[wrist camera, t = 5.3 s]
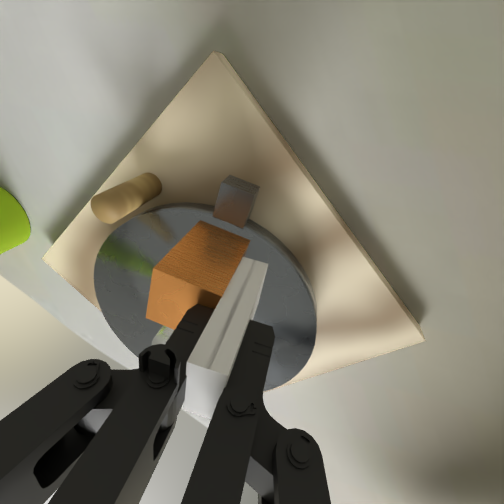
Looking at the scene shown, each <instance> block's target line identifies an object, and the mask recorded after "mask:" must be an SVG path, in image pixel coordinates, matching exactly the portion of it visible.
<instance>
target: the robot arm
mask: <svg viewBox="0 0 504 504" xmlns="http://www.w3.org/2000/svg"><path fill="white" fill-rule="evenodd" d="M267 268H268V264H267V263H264V262H260V261H257V260H253V259H250V258H246V257H243V258H242V260H241V261H240V263H239V265H238V267H237V269H236V271H235V273H234V275H233V276H232V278H231V280H230V282H229V284H228V286H227V288H226V290H225V292H224V294H223V296H222V298H221V299H220V301H219V303H218V304H217V306H216V308H215V309H212V308H209V307H206V306H203V305H200V304H196V305H194V306H193V307H191V308H190V309H188V310H187V312H186V313H185V315H184V316H183V318H182V319H181V321H180V322H179V324H178V325H177V327H176V329H175V330H174V331H173V333H172V334H171V336H170V337H169V339H168V340H167V342H166V343H165V344H156V345H152V346H149V347H147V348H145V349H144V350H143V351H142V352H141V353H140V354H139V369H133V370H111V369H110V366H109V365H108V364H107V363H106V362H104V361H102V360H98V359H90V360H86V361H82V362H80V363H78V364H76V365H75V366H73V367H71V368H70V369H69V370H67V371H66V372H65V373H64V374H62V375H61V376H59V377H58V378H57V379H56V380H54V381H53V382H52V383H50V384H49V385H47V386H46V387H45V388H43V389H42V390H41V391H39V392H38V393H37V394H36V395H34V396H33V397H31V398H30V399H29V400H28V401H26V402H25V403H23V404H22V405H21V406H19V407H18V408H17V409H15V410H14V411H13V412H11V413H10V414H9V415H7V416H6V417H5V418H3V419H2V420H1V421H0V504H44V503H45V501H46V500H47V499H48V498H49V497H50V496H51V495H52V494H53V493H54V492H55V491H56V490H57V489H58V490H57V491H56V493H55V494H54V495H53V497H52V498H51V500H50V501H49V503H48V504H139V502H140V500H141V497H142V495H143V493H144V491H145V489H146V487H147V485H148V483H149V481H150V478H151V476H152V474H153V472H154V470H155V468H156V466H157V464H158V461H159V459H160V457H161V455H162V453H163V451H164V449H165V446H166V444H167V442H168V440H169V438H170V436H171V434H172V432H173V429H174V427H175V424H176V419H177V415H178V413H179V411H180V409H181V407H182V405H183V410H185V411H188V412H190V413H193V414H196V415H199V416H201V417H205V418H207V419H210V420H211V421H210V424H209V427H208V430H207V433H206V436H205V438H204V441H203V444H202V447H201V449H200V452H199V455H198V458H197V460H196V463H195V466H194V469H193V472H192V474H191V477H190V480H189V483H188V486H187V488H186V491H185V494H184V497H183V499H182V502H181V504H240V501H241V496H242V491H243V487H244V482H247V483H248V484H249V485H250V486H251V487H252V488H253V489H254V490H255V491H256V492H257V493H258V504H331V501H330V496H329V490H328V485H327V480H326V474H325V469H324V464H323V458H322V454H321V451H320V448H319V445H318V444H317V443H316V441H315V440H314V438H313V437H312V436H311V435H309V434H308V433H307V432H305V431H303V430H300V429H297V428H294V429H288V430H287V429H286V428H284V427H283V426H282V425H280V424H279V423H278V422H276V421H275V420H274V419H273V418H272V417H271V416H270V415H269V413H268V412H267V410H266V408H265V406H264V403H263V390H264V385H265V381H266V376H267V372H268V367H269V363H270V358H271V354H272V349H273V345H274V341H275V334H274V330H273V327H272V326H269V325H266V324H263V323H260V322H256V321H253V318H254V315H255V312H256V309H257V306H258V303H259V299H260V295H261V291H262V287H263V283H264V279H265V275H266V271H267Z"/></svg>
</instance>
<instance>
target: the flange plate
mask: <svg viewBox="0 0 504 504" xmlns="http://www.w3.org/2000/svg"><path fill="white" fill-rule="evenodd" d="M259 189H260V186H257V185H255V184H252V183H250V182H247V181H245V180H242V179H240V178H237V177H235V176H232V175H229V176H228V177H227V178H226V179H224V180H223V181H222V182H221V186H220V189H219V193H218V197H217V201H216V204H215V206H213V205H208V204H203V203H190V202H181V203H169V204H164V205H160V206H156V207H153V208H150V209H148V210H145V211H143V212H141V213H140V214H138V215H136V216H135V217H133V218H132V219H130V220H128V221H127V222H125V223H124V224H122V225H121V226H119V227H118V228H117V229H116V230H114V231H113V232H112V233H111V234H110V235H109V236H108V237H107V239H106V240H105V241H104V243H103V244H102V246H101V248H100V250H99V252H98V254H97V257H96V261H95V265H94V276H93V277H94V288H95V293H96V297H97V301H98V303H99V306H100V309H101V311H102V313H103V315H104V317H105V319H106V321H107V322H108V324H109V326H110V327H111V329H112V330H113V331H114V333H115V334H116V335H117V337H118V338H119V339H120V340H121V341H122V342H123V344H124V345H125V346H126V347H127V348H128V349H129V350H130V351H131V352H133V353H134V354H135V355H136V356H137V357H138V358H139V354H140V353H141V352H142V351H143V350H144V349H145V348H147V347H149V346H152V345H156V344H165V343H166V342H167V340H168V339H169V337H170V336H171V334H172V333H173V331H174V330H175V329H176V327H177V325H178V324H179V322H180V321H181V319H182V318H183V316H184V315H185V313H186V312H187V310H188V309H190V308H191V307H193V306H194V305H196V304H200V305H203V306H206V307H209V308H212V309H215V308H216V306H217V304H218V303H219V301H220V299H221V298H222V296H223V294H224V292H225V290H226V288H227V286H228V284H229V282H230V280H231V278H232V276H233V275H234V273H235V271H236V269H237V267H238V265H239V263H240V261H241V260H242V258H243V257H246V258H250V259H253V260H257V261H260V262H264V263H267V264H268V268H267V271H266V275H265V279H264V283H263V287H262V291H261V295H260V299H259V303H258V306H257V309H256V312H255V315H254V318H253V321H256V322H260V323H263V324H266V325H269V326H272V327H273V330H274V334H275V341H274V345H273V349H272V354H271V358H270V363H269V367H268V372H267V376H266V381H265V385H264V390H263V392H265V391H268V390H272V389H274V388H276V387H279V386H281V385H283V384H285V383H286V382H288V381H290V380H291V379H292V378H294V377H295V376H296V375H297V374H298V373H299V372H300V371H301V370H302V369H303V368H304V366H305V365H306V364H307V362H308V360H309V358H310V357H311V355H312V352H313V349H314V346H315V340H316V333H317V303H316V299H315V294H314V290H313V288H312V285H311V282H310V280H309V277H308V276H307V274H306V272H305V270H304V269H303V267H302V265H301V264H300V262H299V261H298V260H297V258H296V257H295V256H294V254H293V253H292V252H291V251H290V250H289V249H288V248H287V247H286V246H285V245H284V244H283V243H282V242H281V241H280V240H279V239H278V238H277V237H276V236H274V235H273V234H272V233H271V232H269V231H268V230H267V229H265V228H264V227H262V226H261V225H259V224H257V223H256V222H254V221H252V220H251V219H249V218H250V215H251V212H252V210H253V207H254V204H255V201H256V198H257V195H258V192H259Z"/></svg>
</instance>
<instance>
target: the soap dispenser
mask: <svg viewBox="0 0 504 504" xmlns="http://www.w3.org/2000/svg"><path fill="white" fill-rule="evenodd" d="M29 236H30V223H29V220H28V217H27V215H26V213H25V211H24V210H23V208H22V207H21V205H20V204H19V203H18V202H17V200H16V199H15V198H14V197H13V196H12V195H11V194H9V193H8V192H7V191H6V190H4V189H3V188H1V187H0V254H2V253H4V252H6V251H8V250H10V249H12V248H14V247H16V246H18V245H20V244H22V243H24V242H25V241H26V240H27V239H28V238H29Z"/></svg>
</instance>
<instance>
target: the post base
mask: <svg viewBox="0 0 504 504" xmlns="http://www.w3.org/2000/svg"><path fill="white" fill-rule="evenodd" d="M229 175H232V176H235V177H237V178H240V179H242V180H245V181H247V182H250V183H252V184H255V185H257V186H260V189H259V192H258V195H257V198H256V201H255V204H254V207H253V210H252V212H251V215H250V218H249V219H251V220H252V221H254V222H256V223H257V224H259V225H261V226H262V227H264V228H265V229H267V230H268V231H269V232H271V233H272V234H273V235H274V236H276V237H277V238H278V239H279V240H280V241H281V242H282V243H283V244H284V245H285V246H286V247H287V248H288V249H289V250H290V251H291V252H292V253H293V254H294V256H295V257H296V258H297V260H298V261H299V262H300V264H301V265H302V267H303V269H304V270H305V272H306V274H307V276H308V277H309V280H310V282H311V285H312V288H313V290H314V294H315V299H316V303H317V333H316V340H315V346H314V349H313V352H312V355H311V357H310V358H309V360H308V362H307V364H306V365H305V366H304V368H303V369H302V370H301V371H300V372H299V373H298V374H297V375H296V376H295V377H294V378H292V379H291V380H290V381H288V382H286V383H285V384H283V385H281V386H279V387H276V388H274V389H277V388H280V387H283V386H286V385H289V384H292V383H295V382H299V381H302V380H305V379H308V378H311V377H314V376H317V375H321V374H324V373H327V372H330V371H333V370H336V369H339V368H343V367H346V366H349V365H352V364H355V363H358V362H361V361H365V360H368V359H371V358H374V357H377V356H380V355H383V354H386V353H390V352H393V351H396V350H399V349H402V348H405V347H408V346H412V345H415V344H418V343H421V342H424V341H426V340H425V338H424V335H423V333H422V330H421V328H420V326H419V324H418V323H417V321H416V320H415V319H414V317H413V316H412V314H411V313H410V312H409V310H408V309H407V308H406V306H405V305H404V303H403V302H402V301H401V299H400V298H399V297H398V295H397V294H396V292H395V291H394V290H393V288H392V287H391V285H390V284H389V283H388V281H387V280H386V279H385V277H384V276H383V274H382V273H381V272H380V270H379V269H378V268H377V266H376V265H375V263H374V262H373V261H372V259H371V258H370V256H369V255H368V254H367V252H366V251H365V250H364V248H363V247H362V245H361V244H360V243H359V241H358V240H357V239H356V237H355V236H354V234H353V233H352V232H351V230H350V229H349V227H348V226H347V225H346V223H345V222H344V221H343V219H342V218H341V216H340V215H339V214H338V212H337V211H336V210H335V208H334V207H333V205H332V204H331V203H330V201H329V200H328V199H327V197H326V196H325V194H324V193H323V192H322V190H321V189H320V187H319V186H318V185H317V183H316V182H315V181H314V179H313V178H312V176H311V175H310V174H309V172H308V171H307V170H306V168H305V167H304V165H303V164H302V163H301V161H300V160H299V158H298V157H297V156H296V154H295V153H294V152H293V150H292V149H291V147H290V146H289V145H288V143H287V142H286V141H285V139H284V138H283V136H282V135H281V134H280V132H279V131H278V129H277V128H276V127H275V125H274V124H273V123H272V121H271V120H270V118H269V117H268V116H267V114H266V113H265V112H264V110H263V109H262V107H261V106H260V105H259V103H258V102H257V100H256V99H255V98H254V96H253V95H252V94H251V92H250V91H249V89H248V88H247V87H246V85H245V84H244V83H243V81H242V80H241V78H240V77H239V76H238V74H237V73H236V71H235V70H234V69H233V67H232V66H231V65H230V63H229V62H228V60H227V59H226V58H225V56H224V55H223V54H221V53H218V52H216V51H213V52H212V53H211V54H210V55H209V57H208V58H207V59H206V60H205V61H204V63H203V64H202V65H201V66H200V67H199V69H198V70H197V71H196V72H195V74H194V75H193V76H192V77H191V78H190V80H189V81H188V82H187V83H186V84H185V86H184V87H183V88H182V89H181V90H180V92H179V93H178V94H177V95H176V96H175V98H174V99H173V100H172V101H171V103H170V104H169V105H168V106H167V107H166V109H165V110H164V111H163V112H162V113H161V115H160V116H159V117H158V118H157V119H156V121H155V122H154V123H153V124H152V125H151V127H150V128H149V129H148V130H147V132H146V133H145V134H144V135H143V136H142V138H141V139H140V140H139V141H138V142H137V144H136V145H135V146H134V147H133V148H132V150H131V151H130V152H129V153H128V155H127V156H126V157H125V158H124V159H123V161H122V162H121V163H120V164H119V165H118V167H117V168H116V169H115V170H114V171H113V173H112V174H111V175H110V176H109V177H108V179H107V180H106V181H105V182H104V184H103V185H102V186H101V187H100V188H99V190H98V191H97V192H96V193H95V194H94V196H93V197H92V198H91V199H90V200H89V202H88V203H87V204H86V205H85V206H84V208H83V209H82V210H81V211H80V213H79V214H78V215H77V216H76V217H75V219H74V220H73V221H72V222H71V223H70V225H69V226H68V227H67V228H66V229H65V231H64V232H63V233H62V234H61V235H60V237H59V238H58V239H57V240H56V242H55V243H54V244H53V245H52V246H51V248H50V249H49V250H48V251H47V252H46V254H45V255H44V256H43V257H42V258H41V259H42V260H43V261H45V262H46V263H47V264H48V265H49V266H50V267H51V268H53V269H54V270H55V271H56V272H57V273H58V274H59V275H60V276H62V277H63V278H64V279H65V280H66V281H67V282H68V283H69V284H71V285H72V286H73V287H74V288H75V289H76V290H77V291H79V292H80V293H81V294H82V295H83V296H84V297H85V298H86V299H88V300H89V301H90V302H91V303H92V304H93V305H94V306H95V307H97V308H98V309H99V310H100V311H101V309H100V306H99V303H98V301H97V297H96V293H95V288H94V277H93V276H94V265H95V261H96V257H97V254H98V252H99V250H100V248H101V246H102V244H103V243H104V241H105V240H106V239H107V237H108V236H109V235H110V234H111V233H112V232H113V231H114V230H116V229H117V228H118V227H119V226H121V225H122V224H124V223H125V222H127V221H128V220H130V219H132V218H133V217H135V216H136V215H138V214H140V213H141V212H143V211H145V210H148V209H150V208H153V207H156V206H160V205H164V204H169V203H181V202H190V203H203V204H208V205H213V206H215V204H216V201H217V197H218V193H219V189H220V186H221V182H222V181H223V180H224V179H226V178H227V177H228V176H229ZM101 312H102V311H101ZM272 390H273V389H272ZM268 391H270V390H268ZM265 392H267V391H265ZM263 393H264V392H263Z"/></svg>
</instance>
